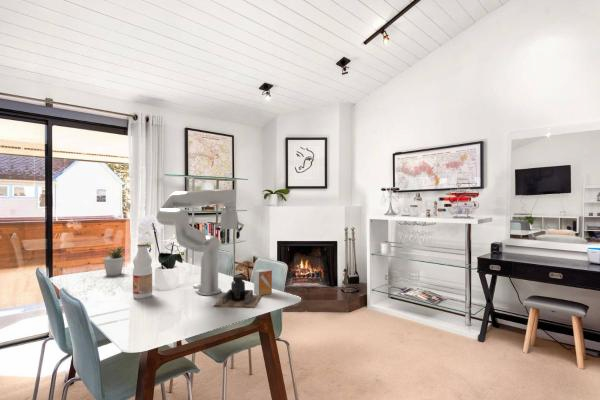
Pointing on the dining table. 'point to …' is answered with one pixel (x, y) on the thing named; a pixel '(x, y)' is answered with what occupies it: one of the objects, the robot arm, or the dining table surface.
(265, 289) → the small box
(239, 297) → the supplement bottle
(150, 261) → the fruit juice
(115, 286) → the dining table surface
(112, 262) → the potted plant
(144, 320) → the dining table surface
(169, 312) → the dining table surface
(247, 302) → the dock
